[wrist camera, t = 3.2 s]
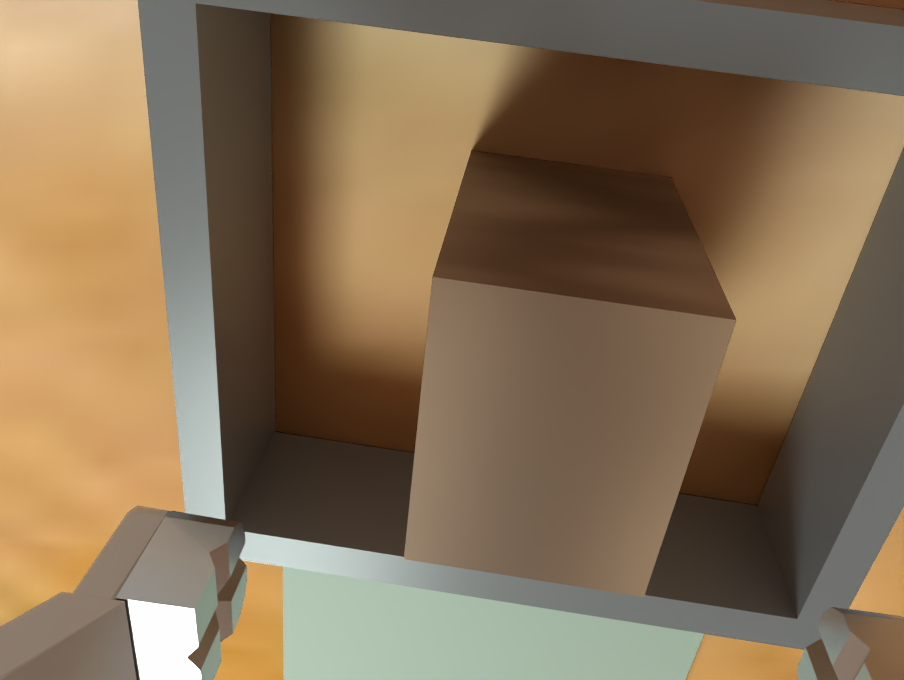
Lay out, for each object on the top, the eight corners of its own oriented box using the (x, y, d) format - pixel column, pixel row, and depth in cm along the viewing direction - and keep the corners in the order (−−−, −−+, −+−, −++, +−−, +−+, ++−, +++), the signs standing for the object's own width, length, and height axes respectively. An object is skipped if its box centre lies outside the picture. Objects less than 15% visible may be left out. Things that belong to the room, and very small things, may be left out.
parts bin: (1008, 23, 15) (1144, 57, 12) (781, 536, 22) (824, 653, 19) (221, -77, 16) (131, -72, 12) (243, 453, 23) (189, 551, 19)
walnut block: (670, 176, 17) (736, 319, 11) (615, 392, 20) (644, 597, 14) (471, 149, 18) (432, 276, 12) (445, 367, 21) (403, 558, 15)
